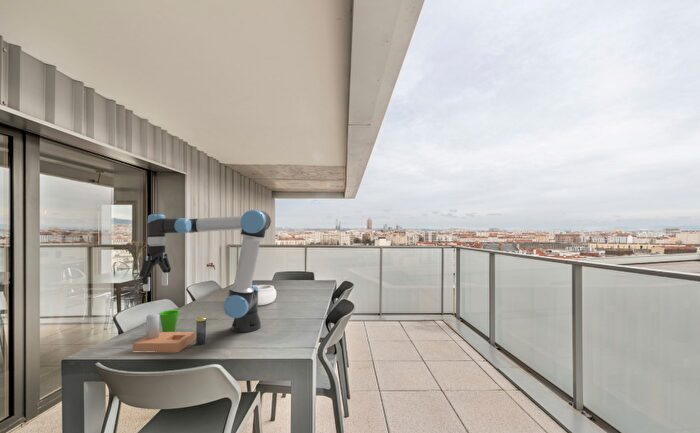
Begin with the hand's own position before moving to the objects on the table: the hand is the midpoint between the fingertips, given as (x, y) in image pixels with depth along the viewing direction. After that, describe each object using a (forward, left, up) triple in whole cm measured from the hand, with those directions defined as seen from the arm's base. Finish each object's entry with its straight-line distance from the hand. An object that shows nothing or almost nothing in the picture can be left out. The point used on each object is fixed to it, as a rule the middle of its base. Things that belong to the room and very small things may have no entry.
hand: (156, 288), depth 148 cm
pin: (-26, +7, -25) cm, 37 cm away
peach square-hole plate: (-11, +10, -25) cm, 29 cm away
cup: (-3, -6, -25) cm, 26 cm away
